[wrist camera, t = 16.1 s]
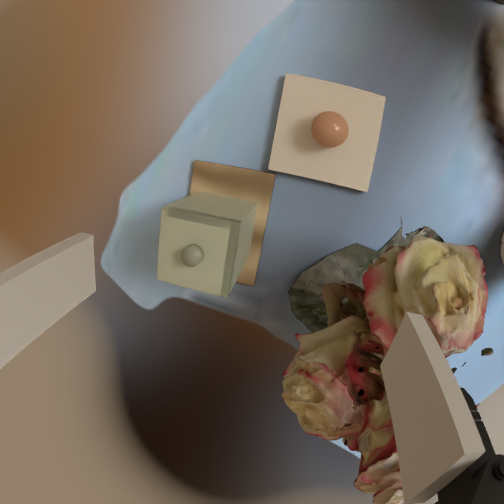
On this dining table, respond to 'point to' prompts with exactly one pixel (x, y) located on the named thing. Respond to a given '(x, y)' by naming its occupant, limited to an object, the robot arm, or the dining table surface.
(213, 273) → the sage cover
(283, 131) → the cream plate
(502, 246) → the decorative vase
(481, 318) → the rose bouquet
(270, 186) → the tan mat
